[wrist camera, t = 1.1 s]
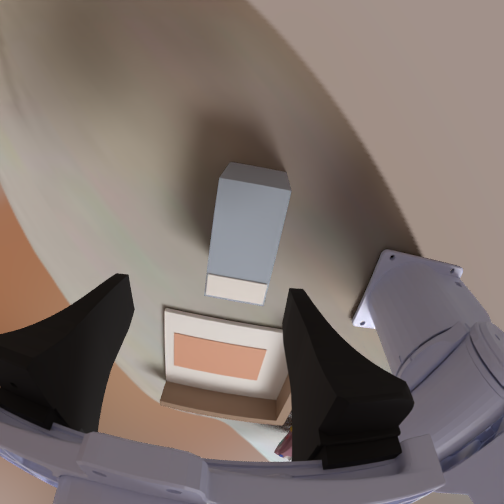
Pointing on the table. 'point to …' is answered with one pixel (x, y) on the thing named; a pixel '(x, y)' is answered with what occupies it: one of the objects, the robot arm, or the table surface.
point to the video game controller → (285, 446)
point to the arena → (225, 369)
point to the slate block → (246, 232)
